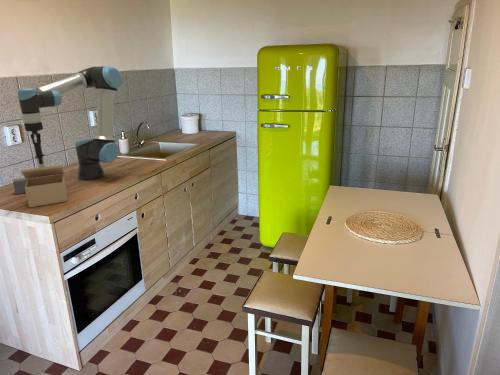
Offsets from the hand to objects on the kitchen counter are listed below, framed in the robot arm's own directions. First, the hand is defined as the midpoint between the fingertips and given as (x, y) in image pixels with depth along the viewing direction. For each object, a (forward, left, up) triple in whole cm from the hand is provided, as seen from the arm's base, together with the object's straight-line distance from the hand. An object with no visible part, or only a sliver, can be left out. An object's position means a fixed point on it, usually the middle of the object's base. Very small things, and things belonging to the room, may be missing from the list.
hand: (42, 169), depth 186 cm
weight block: (+12, -21, -16) cm, 29 cm away
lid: (0, -1, -2) cm, 2 cm away
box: (0, 0, -16) cm, 16 cm away
